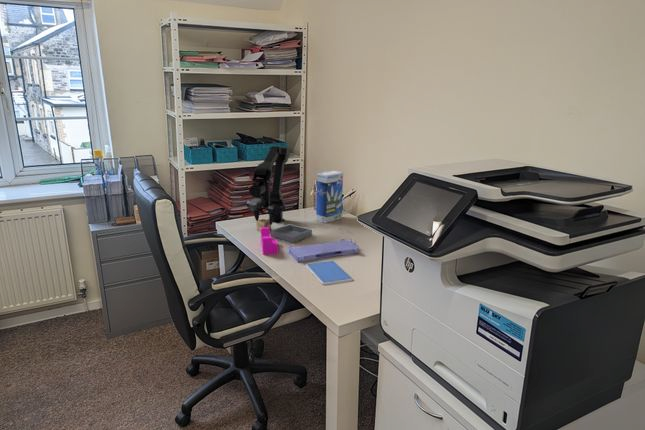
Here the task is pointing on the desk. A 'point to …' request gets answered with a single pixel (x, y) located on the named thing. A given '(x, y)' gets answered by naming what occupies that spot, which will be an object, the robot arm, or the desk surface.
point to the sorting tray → (291, 233)
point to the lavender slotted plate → (323, 250)
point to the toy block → (268, 242)
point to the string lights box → (329, 196)
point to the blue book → (329, 272)
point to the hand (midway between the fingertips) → (263, 222)
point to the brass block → (263, 224)
